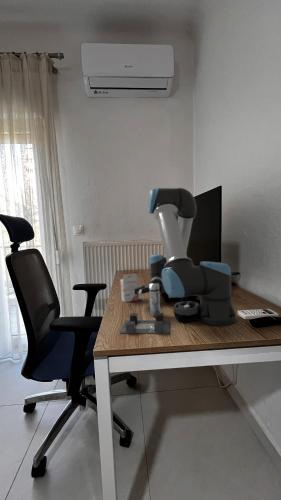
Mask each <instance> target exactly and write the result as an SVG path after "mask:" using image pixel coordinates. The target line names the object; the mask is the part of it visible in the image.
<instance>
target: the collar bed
mask: <svg viewBox="0 0 281 500" xmlns="http://www.w3.org/2000/svg"><path fill="white" fill-rule="evenodd" d="M170 331H171V330H170V320H169V319H164V312H160V313H156V317H155V319H154V320H151V319H149V320H146V319H145V320H144V319H143V320H139V314H138V313H137V312H135V313H134V312H131V313H130V314H129V320H125V321H124V323H123V325H122V328H121V330H120V331H119V335H120V334H123V335H124V334H128V335H129V334H137V335H138V334H170Z"/></svg>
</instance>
